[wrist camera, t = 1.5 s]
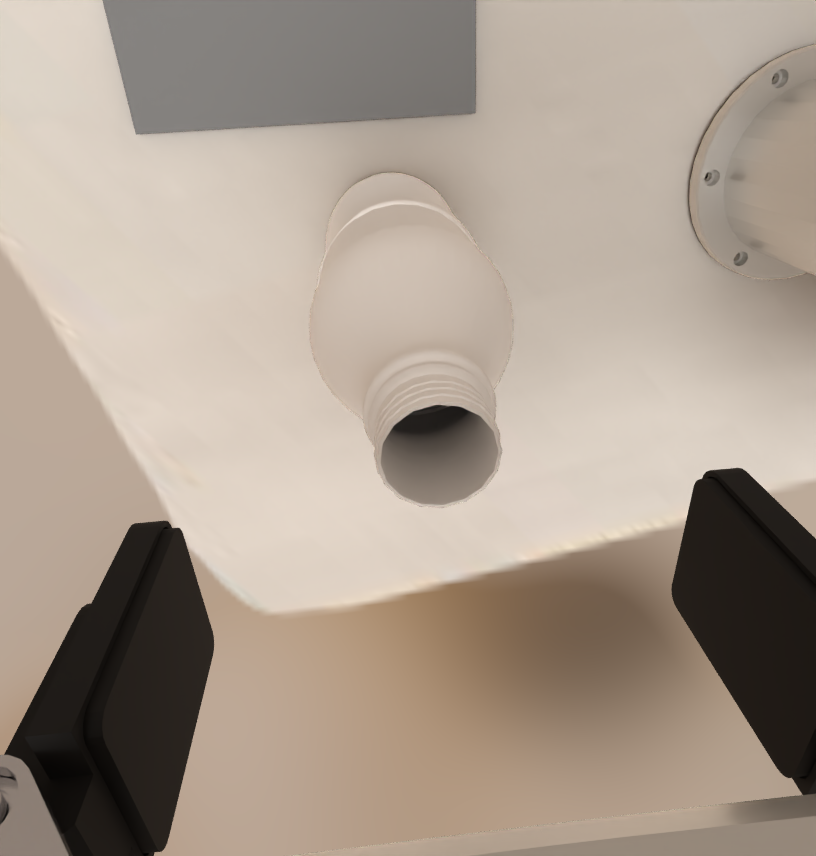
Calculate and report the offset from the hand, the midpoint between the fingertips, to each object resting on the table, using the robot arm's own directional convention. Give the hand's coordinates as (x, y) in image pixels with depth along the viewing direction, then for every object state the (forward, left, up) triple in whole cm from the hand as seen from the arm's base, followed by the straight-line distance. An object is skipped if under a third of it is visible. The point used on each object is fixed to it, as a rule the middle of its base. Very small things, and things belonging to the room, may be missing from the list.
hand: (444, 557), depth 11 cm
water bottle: (0, 0, -29) cm, 29 cm away
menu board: (+4, -12, -28) cm, 31 cm away
